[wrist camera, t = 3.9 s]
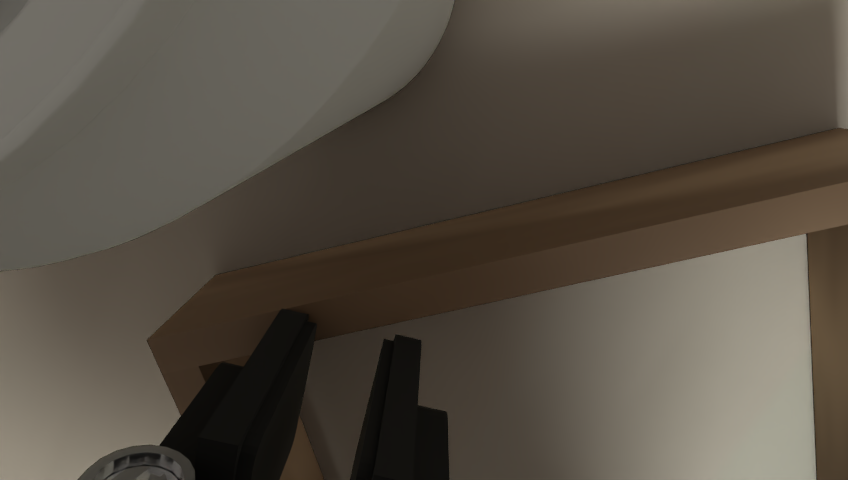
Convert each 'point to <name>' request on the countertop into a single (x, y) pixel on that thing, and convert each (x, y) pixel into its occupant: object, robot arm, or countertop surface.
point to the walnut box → (548, 267)
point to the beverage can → (177, 104)
